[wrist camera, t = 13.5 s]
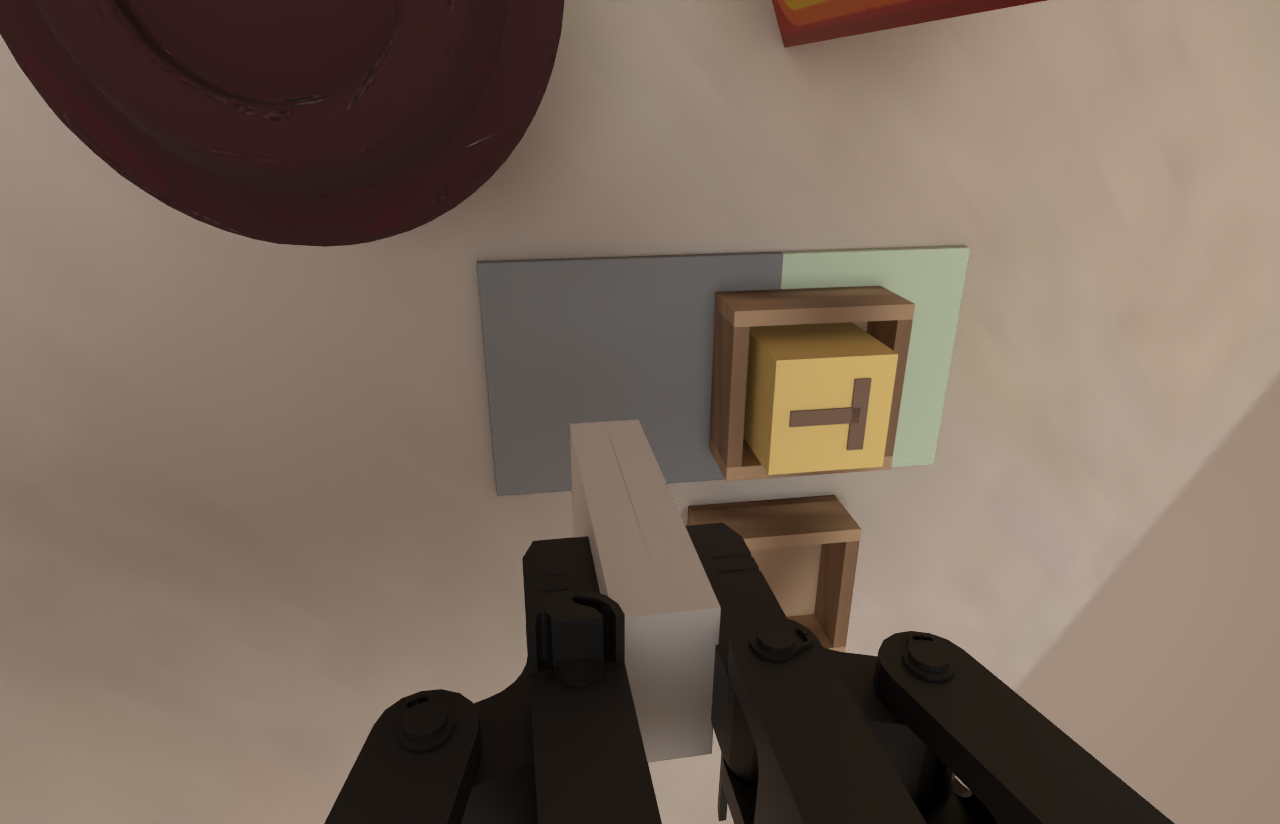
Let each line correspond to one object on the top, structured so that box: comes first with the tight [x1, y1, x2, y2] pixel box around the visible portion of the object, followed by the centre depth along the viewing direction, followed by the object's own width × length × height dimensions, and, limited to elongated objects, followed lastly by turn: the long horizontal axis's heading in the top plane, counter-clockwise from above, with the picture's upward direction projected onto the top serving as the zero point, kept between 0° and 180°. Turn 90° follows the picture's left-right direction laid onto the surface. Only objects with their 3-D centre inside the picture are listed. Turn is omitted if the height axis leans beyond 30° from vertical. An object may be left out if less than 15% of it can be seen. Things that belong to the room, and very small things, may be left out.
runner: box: [477, 246, 970, 496], centre depth 32 cm, size 20×10×1 cm, turn 90°
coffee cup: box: [0, 0, 564, 246], centre depth 18 cm, size 10×10×15 cm
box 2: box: [688, 495, 861, 652], centre depth 35 cm, size 7×7×3 cm
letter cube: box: [743, 322, 898, 475], centre depth 29 cm, size 4×4×5 cm
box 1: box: [709, 286, 915, 481], centre depth 30 cm, size 7×7×3 cm
